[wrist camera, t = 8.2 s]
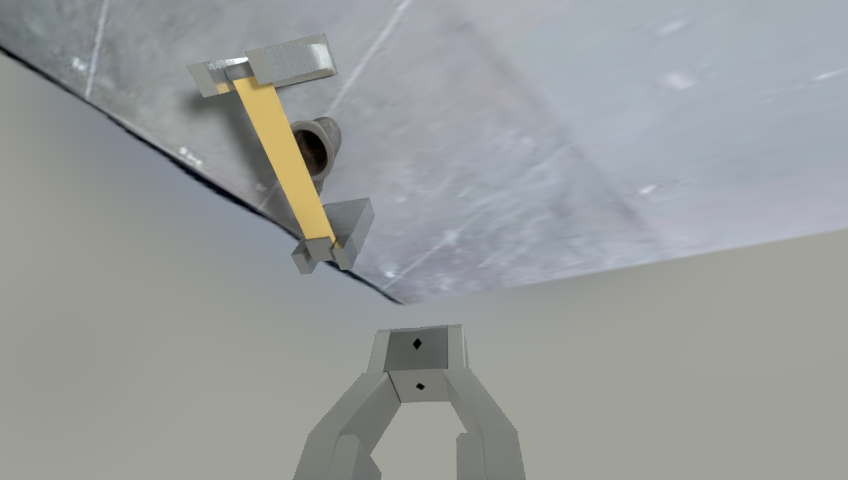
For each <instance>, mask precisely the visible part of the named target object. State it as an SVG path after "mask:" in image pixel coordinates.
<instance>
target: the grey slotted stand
mask: <svg viewBox="0 0 848 480" xmlns="http://www.w3.org/2000/svg"><path fill="white" fill-rule="evenodd" d="M245 54H246V57H247V58H238V59H229V60H219V61H210V62H202V63H198V64H194V65H190V66H187V68H188V70H189V72H190V74H191V76H192V77H193V79H194V81H195V83H196V85H197V87H198V88H199V90H200V92H201V94H202V96H203V98H204V97H209V96H213V95H217V94H222V93H226V92H229V91H233V90H237V89H236V87H235V85H234V83H232V82H231V81H230V80H229V79H228V77H227V75H226V72H225V67H226V66H230V65H234V64H238V63H242V62H246V61H249V63H250V66H251V68H252V70H253V72H254V75H255V77H256V79H257V81H258V84H259V85H261V84H266V83H270V82H272V83H273V86H274V88H276V87H280V86H285V85H289V84H294V83H298V82H303V81H307V80H312V79H316V78H321V77H325V76H330V75H334V74H337V70H336V66H335V63H334V60H333V57H332V53H331V50H330V47H329V44H328V40H327V37H326V34H319V35H315V36H311V37H307V38H303V39H299V40H295V41H291V42H286V43H282V44H278V45H274V46H270V47H263V48H258V49H254V50H250V51H246V52H245Z"/></svg>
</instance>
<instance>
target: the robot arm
mask: <svg viewBox="0 0 848 480" xmlns="http://www.w3.org/2000/svg"><path fill="white" fill-rule="evenodd" d="M425 401H426V402H427V401H429V402H434V401H450V402H451V404H452V406H453V408H454V409H455V411H456V413H457V415H458V416H459V418H460V420H461V422H462V423H463V425H464V427H465V429H466V430H467V432H468V433H461V434H460V435H459V436H458V437H457V439H456V441H457V480H526V479H525V472H524V467H523V461H522V456H521V450H520V444H519V439H518V433H517V430H516V429H515V428H514V426H513V425H512V424H511V422H510V421H509V420H508V418H507V417H506V416H505V414H504V413H503V412H502V410H501V409H500V408H499V406H498V405H497V404H496V402H495V401H494V400H493V398H492V397H491V396H490V394H489V393H488V392H487V390H486V389H485V388H484V386H483V385H482V384H481V382H480V381H479V380H478V378H477V377H476V376H475V374H474V373H473V372H472V370H471V369H470V368H469V362H468V353H467V346H466V339H465V332H464V326H463V324H457V325H440V326H429V327H420V328H404V329H403V328H402V329H383V330H378V332H377V333H376V336H375V340H374V344H373V348H372V353H371V357H370V361H369V365H368V370H367V373H362V374H361V376H360V377H359V378H358V379H357V380H356V381H355V382H354V383H353V385H352V386H351V387H350V388H349V389H348V390H347V391H346V392H345V394H344V395H343V396H342V397H341V398H340V399H339V400H338V401H337V403H336V404H335V405H334V406H333V407H332V409H331V410H330V411H329V412H328V413H327V414H326V415H325V416H324V417H323V418H322V420H321V421H320V422H319V423H318V424H317V425H316V426H315V427H314V429H313V430H312V431H311V432H310V433H309V435H308V438H307V441H306V443H305V446H304V450H303V452H302V455H301V458H300V461H299V464H298V467H297V469H296V472H295V475H294V478H293V480H381V472H380V470H379V468H378V467H377V465H376V464H375V462H374V461H373V459H372V458H371V456H370V454H371V452H372V451H373V449H374V448H375V446H376V444H377V443H378V441H379V439H380V438H381V436H382V434H383V433H384V431H385V430H386V428H387V427H388V425H389V423H390V422H391V420H392V418H393V417H394V415H395V414H396V412H397V410H398V409H399V407H400V406H401V403H410V402H425Z"/></svg>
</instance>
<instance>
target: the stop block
mask: <svg viewBox="0 0 848 480" xmlns="http://www.w3.org/2000/svg"><path fill="white" fill-rule="evenodd" d="M323 209H324V212H325V214H326V217H327V219H328V222H329V224H330V227H331V229H332V232H333V234H334V236H335V239H336V241H337V242H336V244H335V245H334V247H333V249H332V251H333V253H334V256H335V258H336V260H337V262H338V265H339V267H340V269H341V270H345V269H352V267H353V265H354V262H355V260H356V257H357V255H358V254H359V253H360V251H361V248H362V246H363V243H364V241H365V238H366V236H367V233H368V231H369V228H370V226H371V223H372V221H373V218H374V216H375V214H374V211H373V208H372V205H371V202H370V198H365V199H358V200H352V201H345V202H339V203H332V204H326V205H325V206H324V208H323ZM305 240H306V237H305V235H304V236H303V237H302V239H301V240H300V243H299V245H298V246H297V247H296V249H295V250H294V252H293V253H292V254H291V256H292V258H293V260H294V261H295V263H296V265H297V267H298V269H299V271H300V273H301V274H309V273H312V272H313V270H314V268H315V267H316V265H317V263H318V262H314V261H313V259H312V257H311V255H310V253H309V251H308V249H307V246H306V244H305Z"/></svg>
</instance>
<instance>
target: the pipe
mask: <svg viewBox="0 0 848 480" xmlns="http://www.w3.org/2000/svg"><path fill="white" fill-rule="evenodd" d="M290 128H291V130H292V133H293V135H294V138H295V140H296V143H297V145H298V148H299V150H300V153H301V155H302V157H303V160H304V162H305V165H306V167H307V170H308V172H309V175H310V177H311V180H312V182H313V185H314V187H315V190H316V192H317V195H318V197H319V195H320V192H321V189H322V185H323V182H324V178H325V177H327V176H328V175H329V173H330V172H331V170H332V167H333V164H334V160H335V157H336V154H337V152H338V150H339V147H340V144H341V132H340V130H339V128H338V126H337V124H336V123H335V121H334V120H333V119H331V118H329V117H322V118H318V119H316V120H314V121H298V122H295V123H293V124H292V125H290Z"/></svg>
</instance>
